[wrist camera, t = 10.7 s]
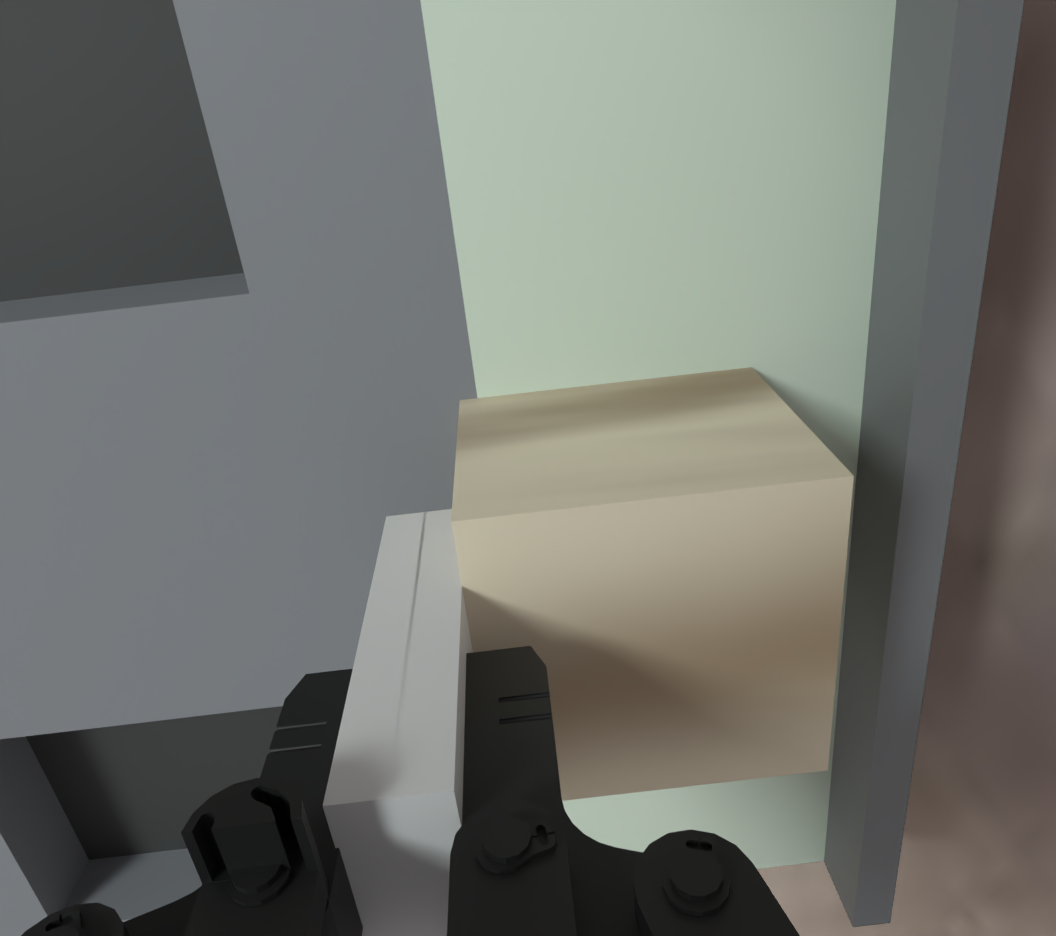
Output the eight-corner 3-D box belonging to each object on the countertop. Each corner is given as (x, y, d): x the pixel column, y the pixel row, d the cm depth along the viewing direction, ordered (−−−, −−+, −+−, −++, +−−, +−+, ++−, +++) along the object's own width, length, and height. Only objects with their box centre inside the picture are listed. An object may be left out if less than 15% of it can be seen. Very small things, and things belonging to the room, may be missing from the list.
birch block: (459, 400, 16) (450, 521, 12) (751, 367, 16) (853, 476, 12) (494, 635, 19) (498, 808, 14) (745, 606, 19) (827, 770, 14)
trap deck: (-1144, -40, 14) (-1810, -89, 10) (911, -285, 14) (1087, -435, 10) (-304, 920, 25) (-452, 1080, 21) (824, 787, 25) (889, 922, 21)
